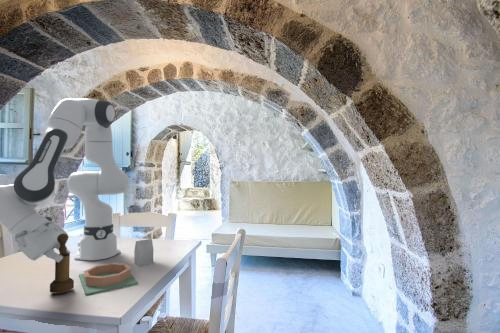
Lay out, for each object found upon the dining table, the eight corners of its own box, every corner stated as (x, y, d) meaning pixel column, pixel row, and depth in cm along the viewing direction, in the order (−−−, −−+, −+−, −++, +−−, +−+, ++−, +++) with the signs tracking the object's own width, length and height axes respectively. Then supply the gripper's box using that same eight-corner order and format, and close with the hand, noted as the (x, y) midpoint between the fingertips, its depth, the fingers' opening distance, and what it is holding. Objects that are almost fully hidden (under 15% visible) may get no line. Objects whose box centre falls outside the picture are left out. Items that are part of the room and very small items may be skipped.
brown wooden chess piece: (77, 285, 97) (78, 231, 97) (66, 293, 91) (67, 236, 90) (57, 285, 97) (58, 231, 97) (44, 293, 90) (45, 236, 90)
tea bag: (153, 263, 123) (153, 239, 123) (137, 266, 119) (137, 242, 119) (149, 260, 126) (150, 238, 126) (134, 264, 122) (134, 240, 122)
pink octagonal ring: (82, 276, 106) (82, 268, 106) (123, 268, 114) (124, 261, 114) (87, 289, 94) (87, 280, 94) (133, 280, 103) (133, 271, 103)
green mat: (78, 276, 107) (78, 274, 107) (124, 267, 117) (124, 266, 117) (85, 295, 91) (85, 293, 91) (138, 283, 101) (138, 282, 101)
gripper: (20, 228, 82) (58, 260, 84) (53, 215, 102) (83, 242, 104) (2, 244, 81) (41, 276, 83) (39, 228, 101) (69, 255, 103)
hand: (64, 257), depth 94 cm, fingers closed on brown wooden chess piece, 4 cm apart
